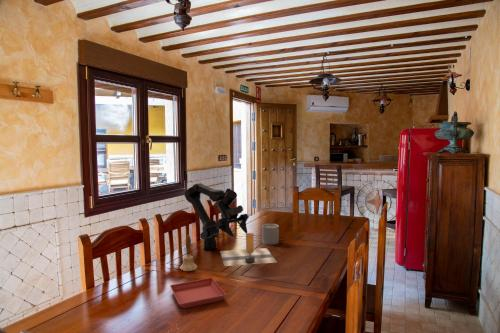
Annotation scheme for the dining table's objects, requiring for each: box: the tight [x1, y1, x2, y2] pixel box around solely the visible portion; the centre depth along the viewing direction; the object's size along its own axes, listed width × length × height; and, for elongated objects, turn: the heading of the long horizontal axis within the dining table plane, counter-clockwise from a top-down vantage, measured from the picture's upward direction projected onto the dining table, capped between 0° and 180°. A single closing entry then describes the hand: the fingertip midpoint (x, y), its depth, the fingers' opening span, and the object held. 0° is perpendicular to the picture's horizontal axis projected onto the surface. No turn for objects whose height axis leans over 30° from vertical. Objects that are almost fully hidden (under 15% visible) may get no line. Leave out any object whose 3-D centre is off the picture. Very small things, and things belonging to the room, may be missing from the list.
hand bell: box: [179, 234, 198, 272], centre depth 167 cm, size 8×8×16 cm
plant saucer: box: [169, 277, 227, 309], centre depth 137 cm, size 18×18×3 cm
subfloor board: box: [219, 247, 278, 267], centre depth 181 cm, size 26×23×1 cm
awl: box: [245, 232, 255, 263], centre depth 172 cm, size 5×5×14 cm
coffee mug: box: [261, 223, 280, 246], centre depth 210 cm, size 13×10×10 cm
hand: (240, 234), depth 177 cm, fingers open, 9 cm apart
